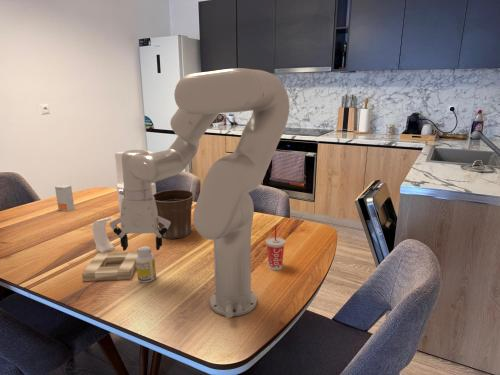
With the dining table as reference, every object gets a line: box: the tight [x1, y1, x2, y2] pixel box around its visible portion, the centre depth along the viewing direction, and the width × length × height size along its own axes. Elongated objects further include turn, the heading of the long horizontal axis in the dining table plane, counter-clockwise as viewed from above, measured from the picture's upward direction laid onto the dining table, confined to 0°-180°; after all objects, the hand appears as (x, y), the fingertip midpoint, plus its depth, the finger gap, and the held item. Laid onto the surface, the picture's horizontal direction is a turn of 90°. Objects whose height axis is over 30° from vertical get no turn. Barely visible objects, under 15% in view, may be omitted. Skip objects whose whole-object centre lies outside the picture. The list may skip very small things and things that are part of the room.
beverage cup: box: [265, 225, 286, 271], centre depth 112 cm, size 6×6×14 cm
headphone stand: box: [91, 217, 115, 253], centre depth 126 cm, size 5×6×12 cm
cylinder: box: [114, 150, 157, 216], centre depth 164 cm, size 17×17×28 cm
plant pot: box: [152, 189, 195, 240], centre depth 139 cm, size 16×16×16 cm
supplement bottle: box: [136, 245, 157, 283], centre depth 106 cm, size 5×5×10 cm
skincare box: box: [54, 184, 75, 212], centre depth 169 cm, size 6×4×12 cm
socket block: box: [81, 251, 138, 282], centre depth 113 cm, size 14×14×2 cm
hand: (142, 248), depth 105 cm, fingers open, 9 cm apart
